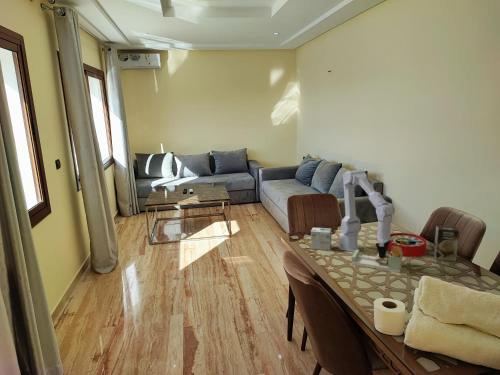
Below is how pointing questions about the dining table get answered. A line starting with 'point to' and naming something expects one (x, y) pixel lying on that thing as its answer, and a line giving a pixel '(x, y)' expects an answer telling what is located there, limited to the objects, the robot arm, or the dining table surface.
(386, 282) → the dining table surface
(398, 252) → the button
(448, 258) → the coffee box
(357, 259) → the rail
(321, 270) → the dining table surface
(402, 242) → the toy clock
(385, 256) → the carriage
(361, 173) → the robot arm
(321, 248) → the light bulb box
